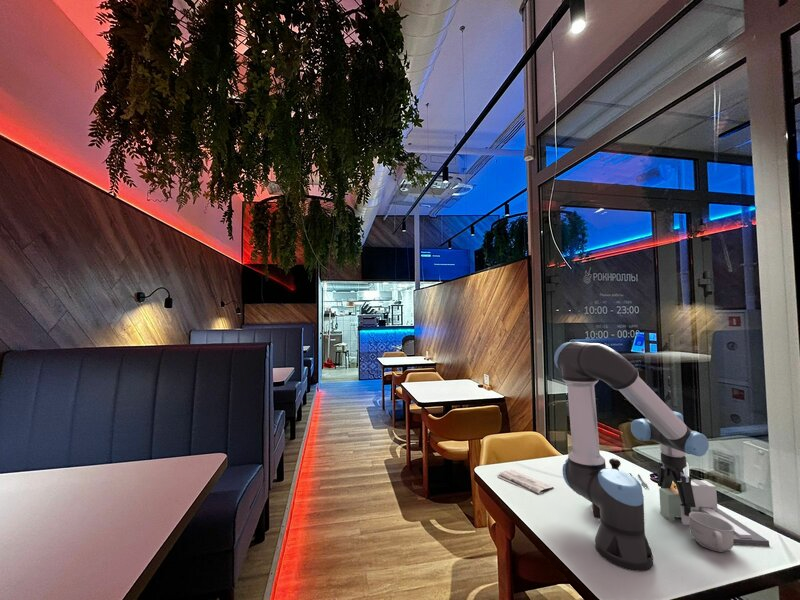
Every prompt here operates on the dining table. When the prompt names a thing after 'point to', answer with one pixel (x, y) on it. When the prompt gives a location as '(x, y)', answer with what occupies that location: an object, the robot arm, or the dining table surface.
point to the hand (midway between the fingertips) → (676, 516)
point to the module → (670, 503)
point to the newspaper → (524, 481)
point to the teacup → (711, 531)
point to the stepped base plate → (722, 513)
